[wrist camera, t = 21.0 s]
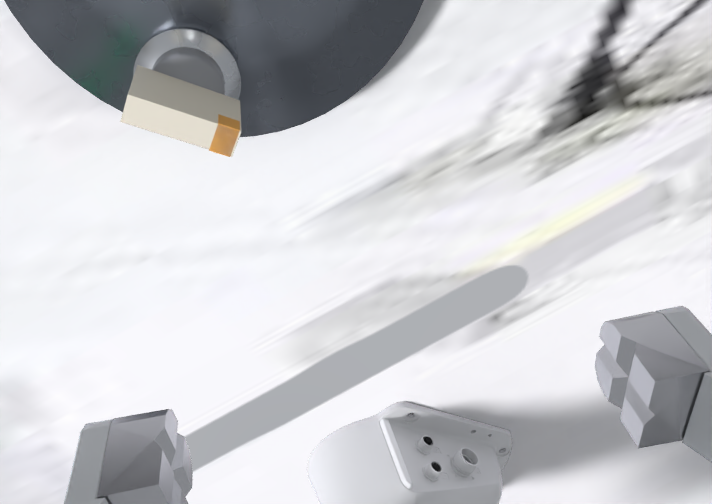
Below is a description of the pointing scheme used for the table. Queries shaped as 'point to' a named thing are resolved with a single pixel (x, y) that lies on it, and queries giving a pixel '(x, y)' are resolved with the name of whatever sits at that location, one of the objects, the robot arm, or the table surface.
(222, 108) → the cream block orange corner
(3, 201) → the table surface
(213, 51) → the tribrach disc
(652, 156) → the table surface
